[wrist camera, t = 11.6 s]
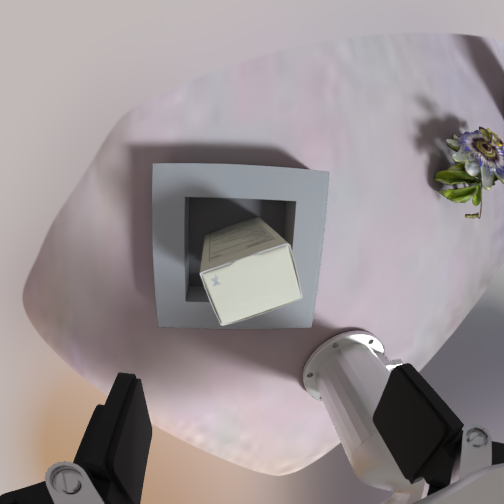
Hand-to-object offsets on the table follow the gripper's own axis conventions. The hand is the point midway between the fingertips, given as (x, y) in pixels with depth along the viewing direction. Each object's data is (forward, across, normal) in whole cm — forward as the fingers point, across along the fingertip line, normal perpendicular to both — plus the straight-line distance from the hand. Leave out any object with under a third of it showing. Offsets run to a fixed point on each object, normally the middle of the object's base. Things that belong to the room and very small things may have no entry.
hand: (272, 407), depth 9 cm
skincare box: (+22, 0, -1) cm, 23 cm away
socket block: (+23, 0, -1) cm, 23 cm away
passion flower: (+24, -31, -13) cm, 41 cm away
